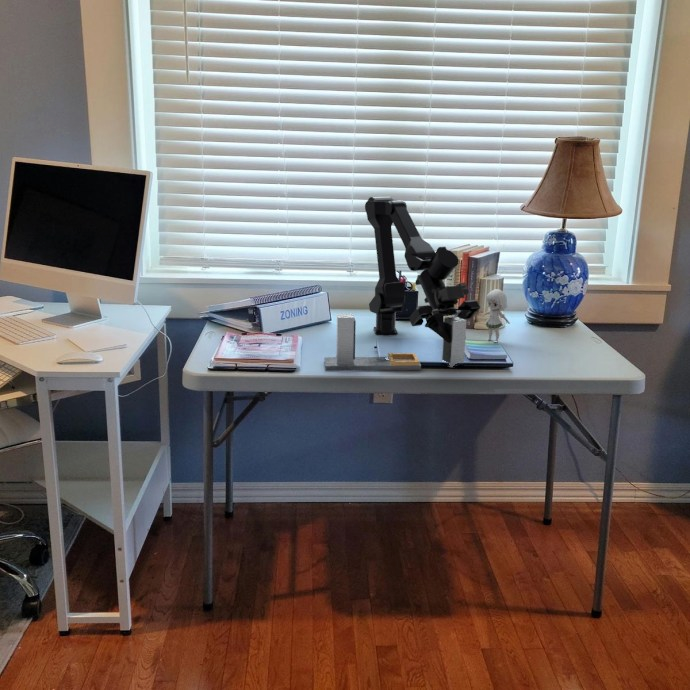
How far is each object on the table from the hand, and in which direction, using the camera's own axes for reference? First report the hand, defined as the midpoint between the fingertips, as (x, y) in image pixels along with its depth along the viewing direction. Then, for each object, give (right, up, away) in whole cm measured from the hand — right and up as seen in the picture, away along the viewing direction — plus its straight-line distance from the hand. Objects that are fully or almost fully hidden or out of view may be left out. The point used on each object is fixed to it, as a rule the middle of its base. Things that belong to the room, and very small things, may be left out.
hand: (457, 341), depth 197 cm
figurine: (+14, 0, +24) cm, 28 cm away
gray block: (-1, -6, +3) cm, 7 cm away
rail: (-22, -6, +1) cm, 23 cm away
